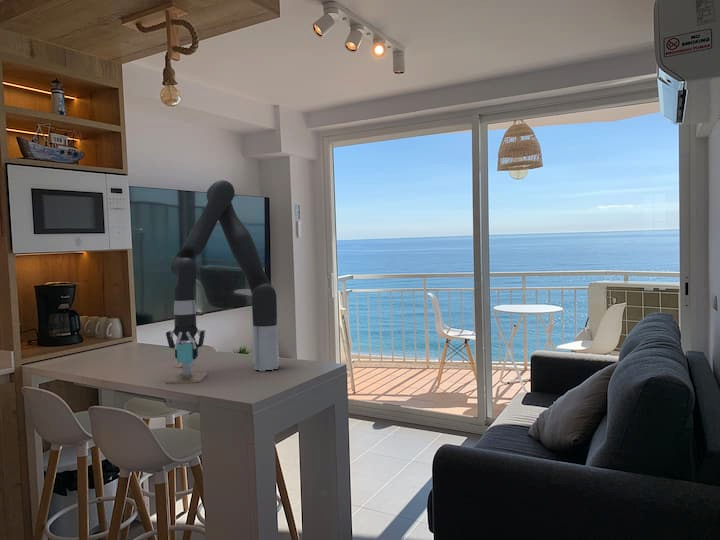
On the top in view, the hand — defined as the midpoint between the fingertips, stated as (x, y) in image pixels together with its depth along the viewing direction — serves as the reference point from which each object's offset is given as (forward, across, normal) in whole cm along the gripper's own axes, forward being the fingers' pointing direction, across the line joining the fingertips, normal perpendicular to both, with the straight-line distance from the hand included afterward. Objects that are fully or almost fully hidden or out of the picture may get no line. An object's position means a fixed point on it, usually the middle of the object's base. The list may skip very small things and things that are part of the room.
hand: (186, 358), depth 192 cm
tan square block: (+7, 0, 0) cm, 7 cm away
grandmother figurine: (+8, +7, -22) cm, 24 cm away
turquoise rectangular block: (+1, 0, 0) cm, 1 cm away
